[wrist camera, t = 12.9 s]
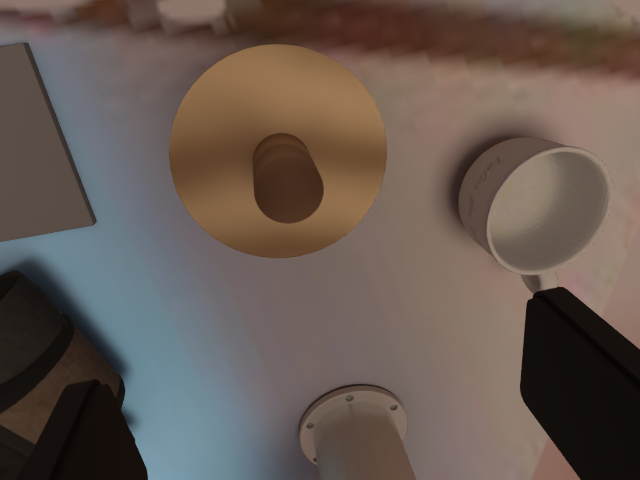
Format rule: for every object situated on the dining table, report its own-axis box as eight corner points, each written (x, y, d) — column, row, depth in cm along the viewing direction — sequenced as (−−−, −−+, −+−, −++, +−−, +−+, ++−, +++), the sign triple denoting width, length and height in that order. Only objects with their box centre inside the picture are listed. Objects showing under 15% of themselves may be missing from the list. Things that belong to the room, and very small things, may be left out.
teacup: (449, 132, 40) (494, 156, 33) (565, 121, 41) (633, 141, 34) (441, 271, 46) (476, 317, 39) (542, 258, 47) (595, 300, 40)
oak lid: (388, 229, 30) (421, 277, 24) (203, 265, 29) (192, 323, 23) (371, 27, 24) (408, 28, 19) (144, 63, 23) (112, 75, 18)
